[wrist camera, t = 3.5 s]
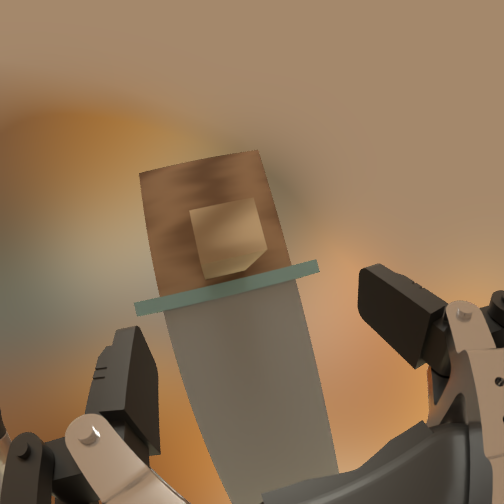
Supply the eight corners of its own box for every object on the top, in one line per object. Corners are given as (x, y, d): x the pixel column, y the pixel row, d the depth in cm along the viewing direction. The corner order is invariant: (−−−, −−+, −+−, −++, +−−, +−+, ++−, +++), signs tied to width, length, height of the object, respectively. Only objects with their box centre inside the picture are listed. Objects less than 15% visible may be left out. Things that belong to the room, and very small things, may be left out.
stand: (242, 558, 14) (134, 302, 19) (237, 532, 19) (148, 303, 23) (364, 518, 17) (316, 259, 21) (346, 498, 22) (297, 267, 26)
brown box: (127, 293, 11) (110, 112, 13) (169, 298, 24) (149, 194, 25) (338, 243, 13) (280, 84, 14) (277, 272, 25) (250, 173, 27)
